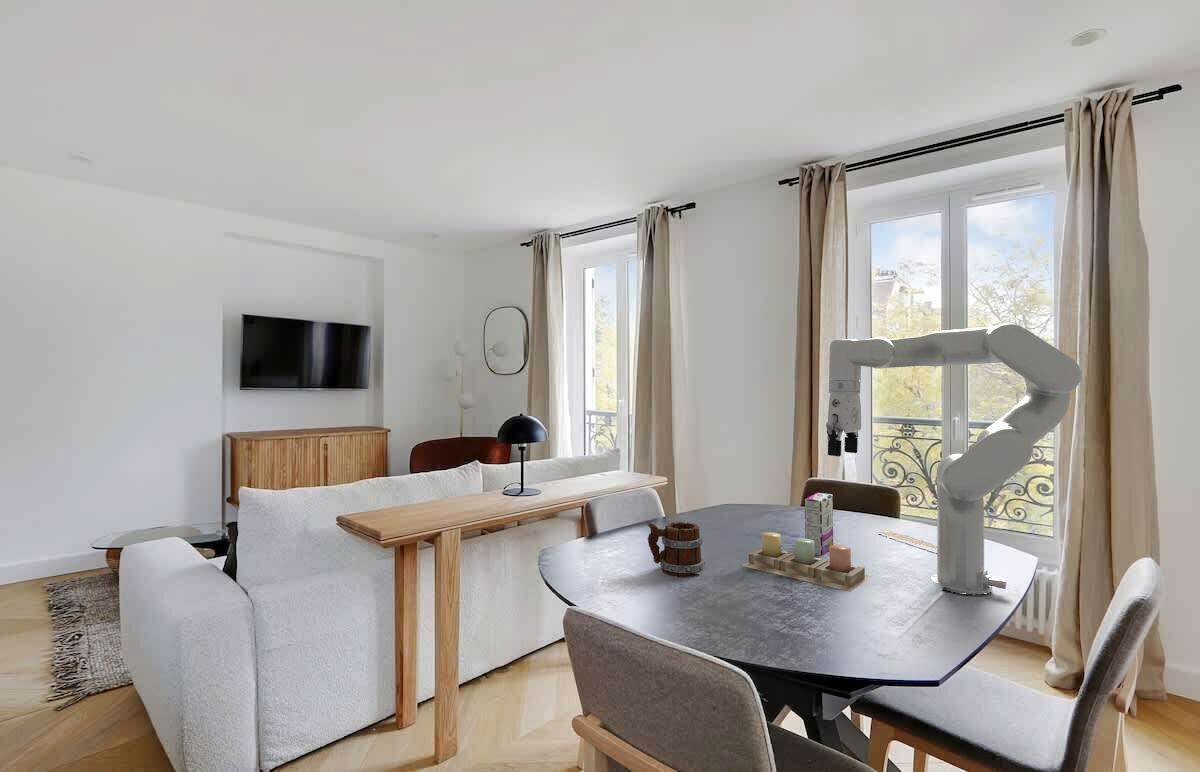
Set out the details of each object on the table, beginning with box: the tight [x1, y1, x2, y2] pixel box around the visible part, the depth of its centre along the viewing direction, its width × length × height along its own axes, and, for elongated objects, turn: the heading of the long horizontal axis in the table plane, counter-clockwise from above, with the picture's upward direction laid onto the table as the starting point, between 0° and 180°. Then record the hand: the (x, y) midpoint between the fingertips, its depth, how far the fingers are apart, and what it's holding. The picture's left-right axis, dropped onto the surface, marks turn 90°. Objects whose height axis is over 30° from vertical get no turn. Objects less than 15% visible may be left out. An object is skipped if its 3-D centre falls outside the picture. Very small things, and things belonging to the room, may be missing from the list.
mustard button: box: [761, 531, 782, 556], centre depth 156 cm, size 5×5×5 cm
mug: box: [647, 521, 706, 578], centre depth 154 cm, size 12×14×15 cm
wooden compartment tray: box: [741, 547, 872, 592], centre depth 150 cm, size 28×14×4 cm, turn 47°
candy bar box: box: [804, 492, 834, 556], centre depth 169 cm, size 11×5×16 cm, turn 143°
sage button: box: [793, 537, 815, 563], centre depth 150 cm, size 5×5×5 cm
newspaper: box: [877, 529, 937, 549], centre depth 179 cm, size 24×7×2 cm, turn 17°
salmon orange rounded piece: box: [828, 544, 852, 571], centre depth 144 cm, size 5×5×5 cm
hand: (842, 454), depth 152 cm, fingers open, 9 cm apart
